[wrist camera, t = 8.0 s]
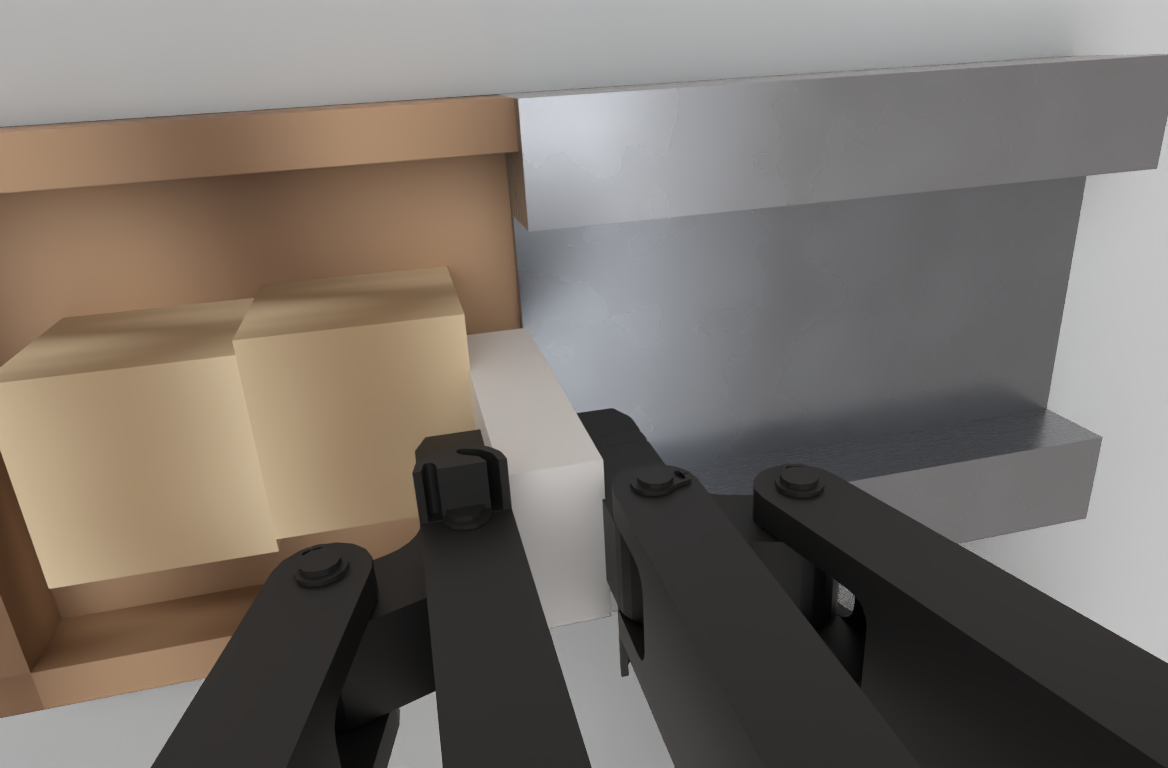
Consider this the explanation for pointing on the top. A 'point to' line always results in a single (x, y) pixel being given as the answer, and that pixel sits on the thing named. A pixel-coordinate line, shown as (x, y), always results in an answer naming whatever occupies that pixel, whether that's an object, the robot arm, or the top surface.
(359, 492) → the chip
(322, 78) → the top surface
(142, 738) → the top surface
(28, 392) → the chip
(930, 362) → the slot rail
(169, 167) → the tray
